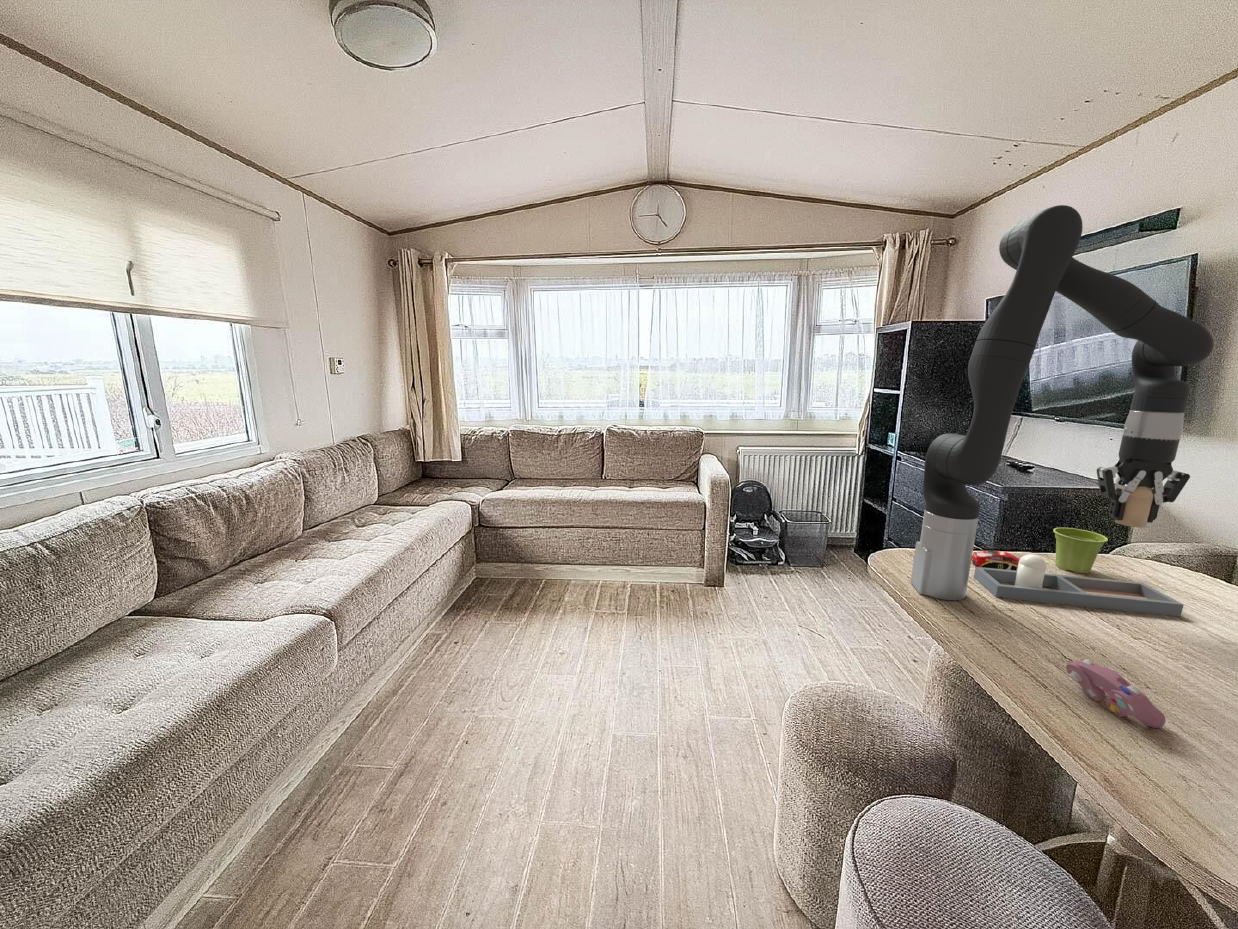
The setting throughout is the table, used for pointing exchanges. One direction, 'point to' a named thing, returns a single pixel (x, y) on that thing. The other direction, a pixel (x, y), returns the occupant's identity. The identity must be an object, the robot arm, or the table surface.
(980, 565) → the race car
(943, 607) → the table surface
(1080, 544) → the plant pot
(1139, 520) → the beige capsule
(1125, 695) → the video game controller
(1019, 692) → the table surface
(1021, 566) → the white capsule
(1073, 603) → the divided rectangular frame
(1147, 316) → the robot arm
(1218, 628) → the table surface
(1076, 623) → the table surface
